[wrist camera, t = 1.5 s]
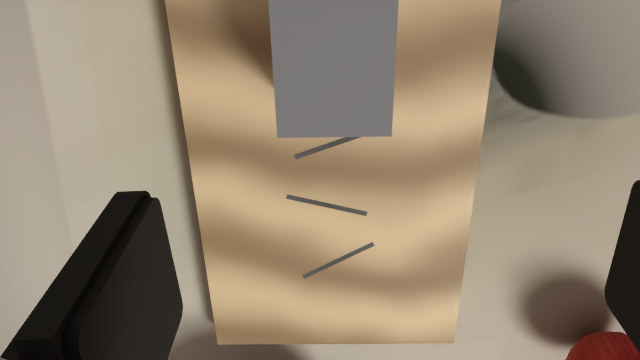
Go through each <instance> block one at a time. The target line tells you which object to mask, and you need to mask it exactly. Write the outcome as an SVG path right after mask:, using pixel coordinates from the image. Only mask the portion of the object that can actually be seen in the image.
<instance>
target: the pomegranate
mask: <svg viewBox="0 0 640 360" xmlns="http://www.w3.org/2000/svg"><path fill="white" fill-rule="evenodd" d="M566 360H640V353H639V351H638V350H637V348H636V347H635V345H634V344H633V342H632V341H631V339H630V338H629V337H628V335H626V334H624V333H622V332H597V333H589V334H586V335H584V336H583V337H582V338H581V340H579V341H578V342H577V343H576V344H575V345H574V346H573V348H572V349H571V350H570V352H569V354H568V356H567V358H566Z"/></svg>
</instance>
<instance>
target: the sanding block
mask: <svg viewBox="0 0 640 360" xmlns="http://www.w3.org/2000/svg"><path fill="white" fill-rule="evenodd" d="M268 1H269V17H270V33H271V48H272V64H273V80H274V96H275V111H276V127H277V138H316V137H390V136H392V123H393V103H394V83H395V63H396V42H397V22H398V2H399V0H268Z"/></svg>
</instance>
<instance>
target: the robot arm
mask: <svg viewBox="0 0 640 360" xmlns="http://www.w3.org/2000/svg"><path fill="white" fill-rule="evenodd" d="M605 300H606V303H607V305H608V307H609V309H610V310H611V312H612V313H613V315H614V316H615V317H616V319H617V320H618V322H619V323H620V325H621V326H622V328H623V329H624V331H625V332H626V334H627V335H628V337H629V338H630V339H631V341H632V342H633V344H634V345H635V347H636V348H637V350H638V351H639V353H640V180H638V181H636V182H635V183H634V184H633V187H632V189H631V193H630V197H629V200H628V204H627V208H626V212H625V215H624V219H623V223H622V226H621V230H620V234H619V237H618V241H617V245H616V249H615V252H614V256H613V260H612V263H611V267H610V271H609V275H608V278H607V282H606V286H605ZM182 310H183V304H182V298H181V293H180V289H179V284H178V280H177V275H176V271H175V266H174V262H173V258H172V253H171V249H170V244H169V240H168V235H167V231H166V226H165V222H164V218H163V213H162V209H161V204H160V201H159V199H158V198H151V196H150V194H149V193H148V192H147V191H127V192H117V193H116V194H115V195H114V196H113V197H112V199H111V200H110V202H109V203H108V205H107V206H106V207H105V209H104V210H103V212H102V213H101V214H100V216H99V217H98V219H97V220H96V222H95V223H94V224H93V226H92V227H91V229H90V230H89V232H88V233H87V234H86V236H85V237H84V239H83V240H82V241H81V243H80V244H79V246H78V247H77V249H76V250H75V251H74V253H73V254H72V256H71V257H70V258H69V260H68V261H67V263H66V264H65V266H64V267H63V268H62V270H61V271H60V273H59V274H58V276H57V277H56V278H55V280H54V281H53V283H52V284H51V285H50V287H49V288H48V290H47V291H46V293H45V294H44V295H43V297H42V298H41V300H40V301H39V302H38V304H37V305H36V307H35V308H34V310H33V311H32V312H31V314H30V315H29V317H28V318H27V319H26V321H25V322H24V324H23V325H22V327H21V328H20V329H19V331H18V332H17V334H16V335H15V337H14V338H13V339H12V341H11V343H10V344H9V345H8V347H7V348H6V350H5V351H4V352H3V354H2V355H1V357H0V360H167V359H168V356H169V353H170V350H171V347H172V344H173V341H174V338H175V335H176V333H177V330H178V327H179V324H180V321H181V317H182Z"/></svg>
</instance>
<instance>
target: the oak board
mask: <svg viewBox="0 0 640 360" xmlns="http://www.w3.org/2000/svg"><path fill="white" fill-rule="evenodd" d="M500 5H501V0H399V2H398V22H397V42H396V63H395V83H394V103H393V123H392V136H390V137H316V138H277V127H276V111H275V96H274V80H273V64H272V48H271V33H270V17H269V1H268V0H165V6H166V13H167V19H168V26H169V32H170V39H171V45H172V52H173V58H174V65H175V71H176V78H177V84H178V91H179V97H180V104H181V110H182V117H183V123H184V130H185V136H186V142H187V149H188V155H189V162H190V168H191V175H192V181H193V188H194V194H195V201H196V207H197V214H198V220H199V227H200V233H201V240H202V246H203V253H204V259H205V266H206V272H207V279H208V285H209V292H210V298H211V305H212V311H213V318H214V324H215V331H216V337H217V344H218V345H236V344H401V343H454V336H455V329H456V322H457V315H458V307H459V300H460V293H461V286H462V279H463V271H464V264H465V257H466V250H467V243H468V236H469V228H470V221H471V214H472V207H473V200H474V192H475V185H476V178H477V171H478V164H479V156H480V149H481V142H482V135H483V128H484V121H485V113H486V106H487V99H488V92H489V85H490V77H491V70H492V63H493V56H494V49H495V41H496V34H497V27H498V20H499V13H500Z"/></svg>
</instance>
